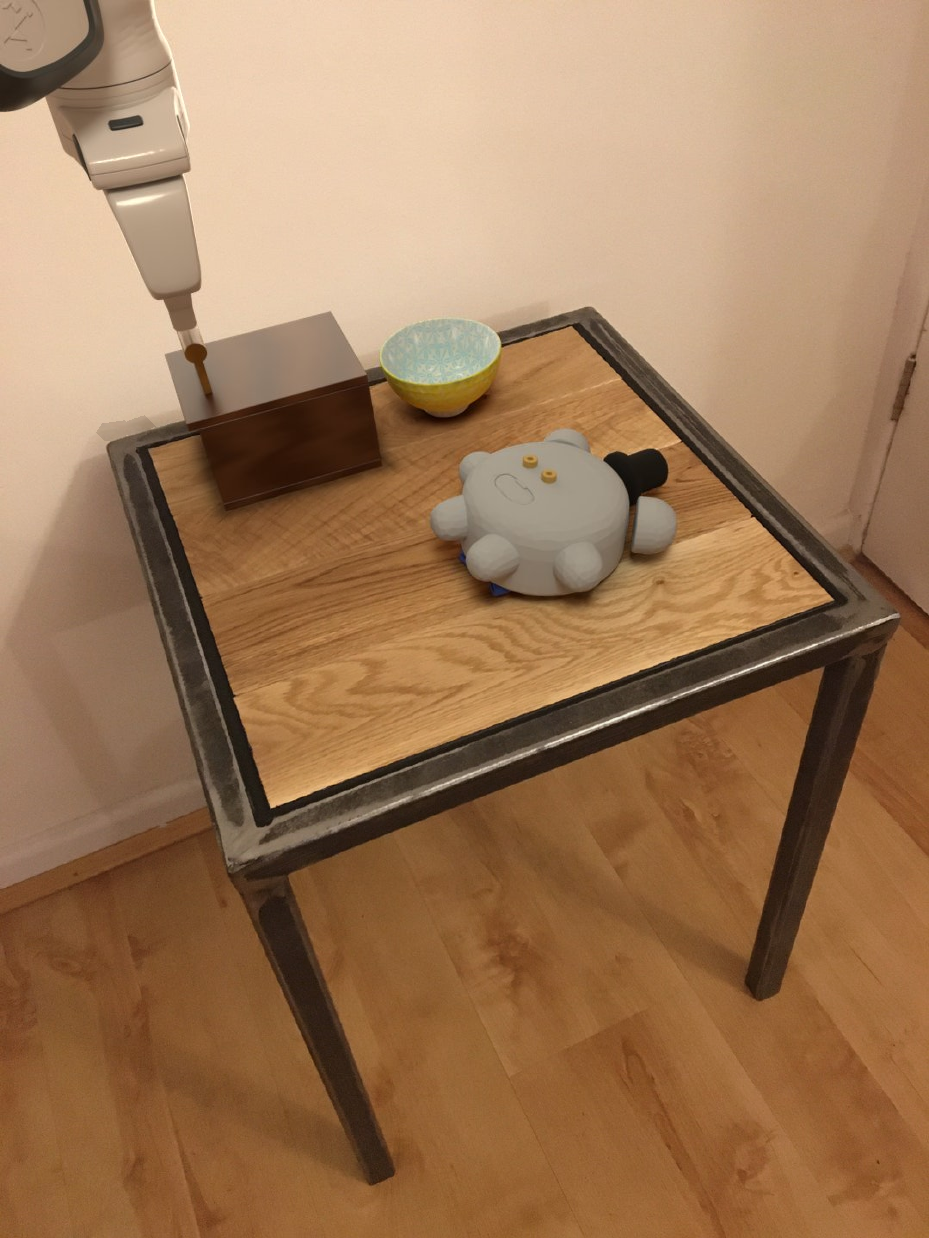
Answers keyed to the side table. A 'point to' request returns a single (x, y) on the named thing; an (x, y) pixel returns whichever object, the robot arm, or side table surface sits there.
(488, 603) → the side table surface
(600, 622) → the side table surface
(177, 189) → the robot arm
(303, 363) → the lid
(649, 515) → the figurine
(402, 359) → the bowl
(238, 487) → the chest
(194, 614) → the side table surface
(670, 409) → the side table surface
